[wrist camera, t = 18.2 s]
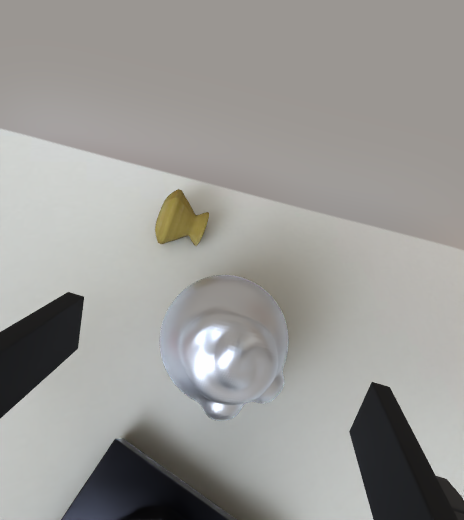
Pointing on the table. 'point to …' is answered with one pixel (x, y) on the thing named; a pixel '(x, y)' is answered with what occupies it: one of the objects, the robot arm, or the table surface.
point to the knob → (179, 220)
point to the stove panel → (138, 491)
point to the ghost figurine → (225, 344)
